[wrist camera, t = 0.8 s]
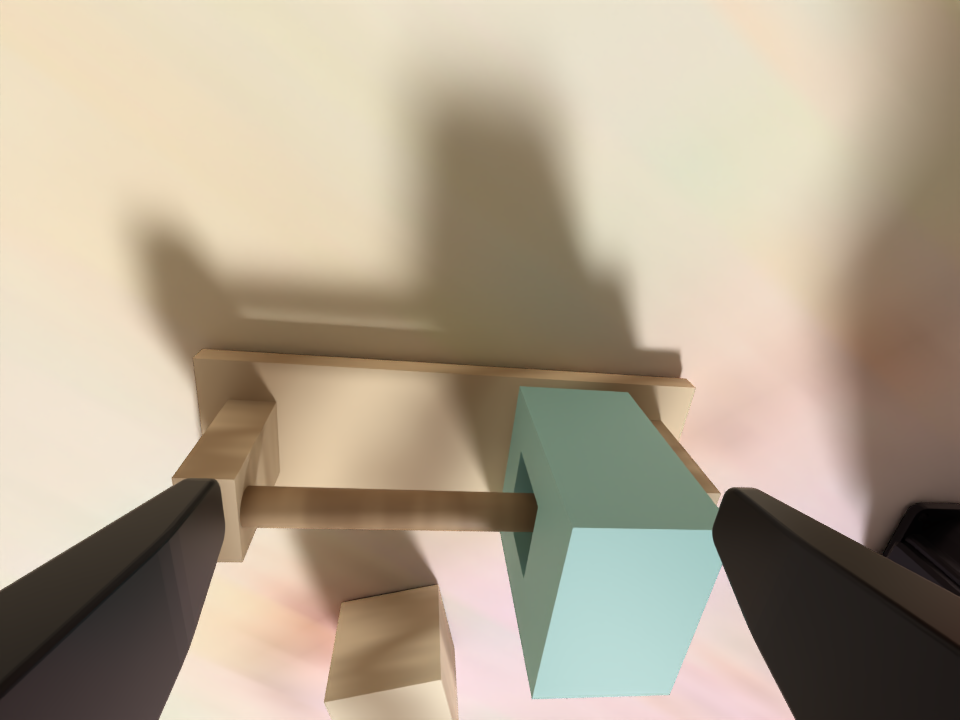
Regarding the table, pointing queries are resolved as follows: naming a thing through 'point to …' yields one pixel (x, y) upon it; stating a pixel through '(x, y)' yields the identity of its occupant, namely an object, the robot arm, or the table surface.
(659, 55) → the table surface
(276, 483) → the rail
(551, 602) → the bead
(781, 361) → the table surface
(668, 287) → the table surface
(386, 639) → the maple cube
